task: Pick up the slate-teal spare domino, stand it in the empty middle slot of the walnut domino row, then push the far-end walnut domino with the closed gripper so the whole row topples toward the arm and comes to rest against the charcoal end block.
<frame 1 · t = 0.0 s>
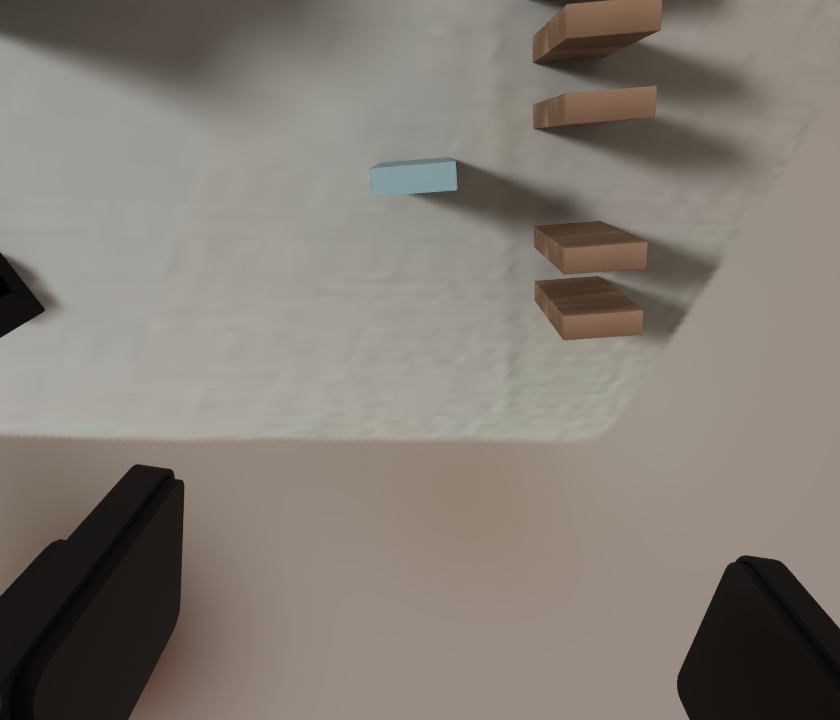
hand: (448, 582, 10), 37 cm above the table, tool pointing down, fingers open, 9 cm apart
spare domino: (415, 171, 43), on the table
domino 2: (566, 234, 45), on the table
domino 1: (566, 288, 46), on the table
domino 3: (568, 113, 42), on the table
domino 4: (569, 46, 40), on the table
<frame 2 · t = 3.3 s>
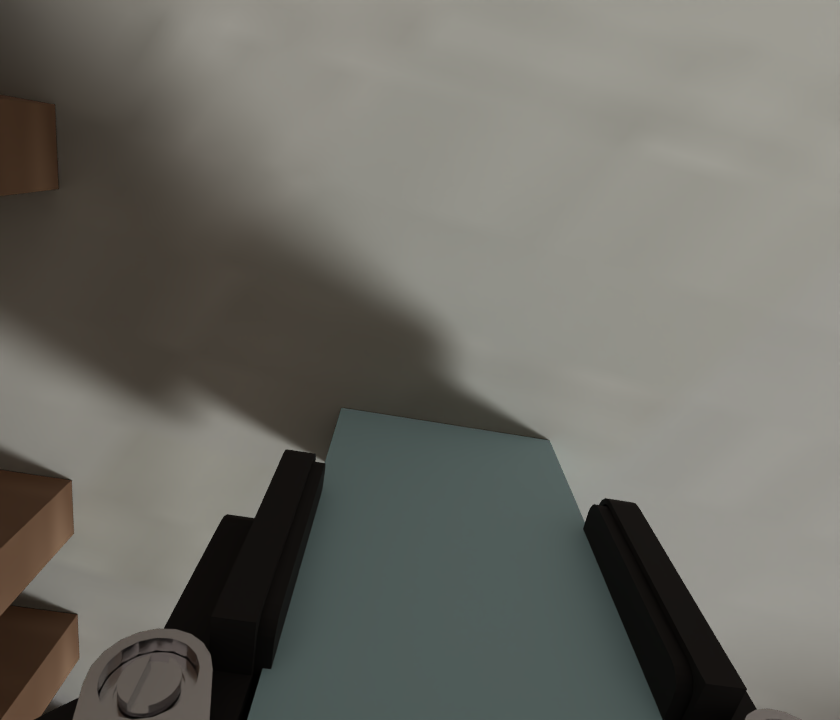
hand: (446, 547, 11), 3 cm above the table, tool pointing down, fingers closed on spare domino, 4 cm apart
spare domino: (440, 453, 14), on the table, touching gripper
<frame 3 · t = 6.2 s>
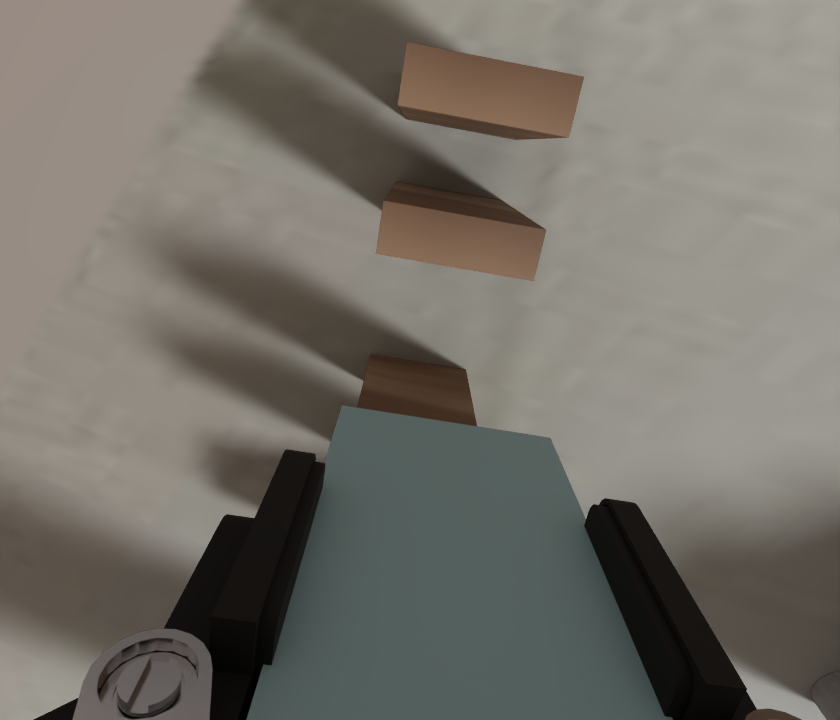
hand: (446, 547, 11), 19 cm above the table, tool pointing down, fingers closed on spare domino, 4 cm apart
spare domino: (441, 451, 14), point 16 cm above the table, touching gripper
domino 2: (446, 208, 27), on the table
domino 1: (464, 110, 26), on the table
domino 3: (415, 376, 30), on the table
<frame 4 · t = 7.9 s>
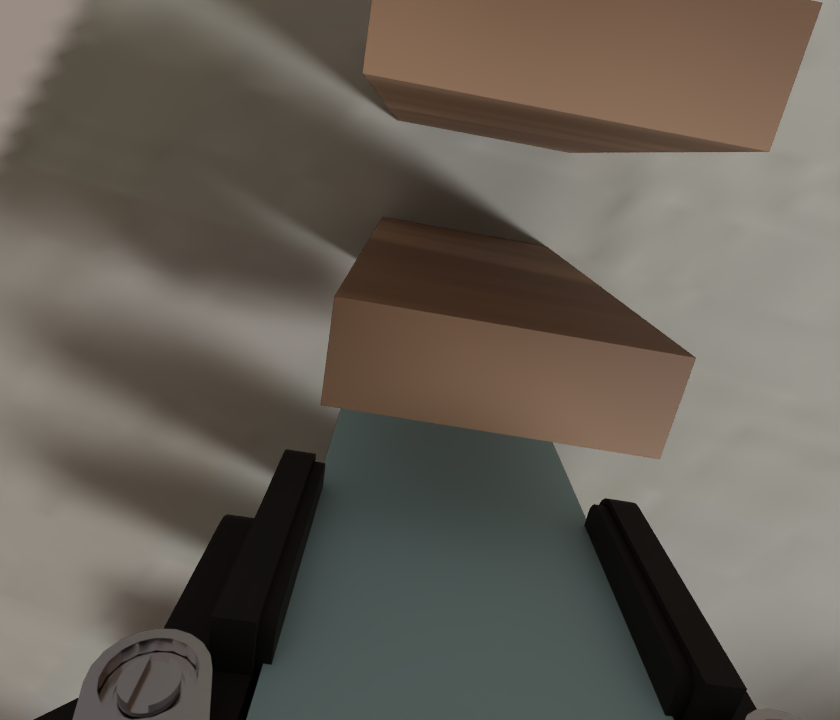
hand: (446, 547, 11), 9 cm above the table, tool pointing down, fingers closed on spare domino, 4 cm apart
spare domino: (441, 450, 14), point 5 cm above the table, touching gripper
domino 2: (459, 258, 17), on the table
domino 1: (490, 106, 16), on the table
when the fingers open (4 cm above the table, at t = 9.2 s): spare domino stays where it is, on the table.
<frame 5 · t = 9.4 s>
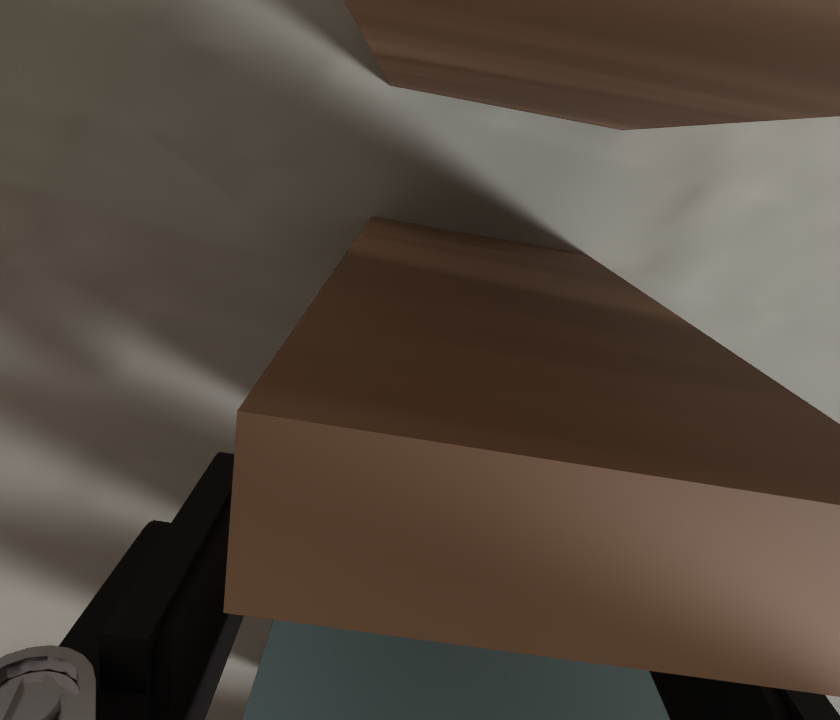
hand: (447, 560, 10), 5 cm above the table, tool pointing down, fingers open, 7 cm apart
spare domino: (438, 432, 15), on the table
domino 2: (473, 270, 13), on the table
domino 1: (516, 66, 12), on the table
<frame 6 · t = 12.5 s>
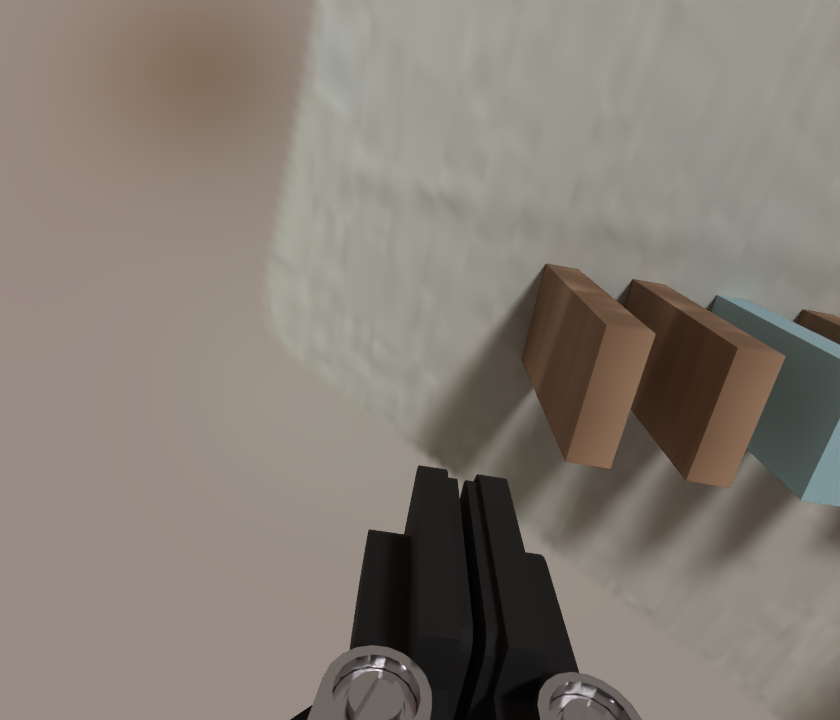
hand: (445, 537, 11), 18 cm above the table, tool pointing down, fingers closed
spare domino: (715, 345, 29), on the table
domino 2: (633, 330, 29), on the table
domino 1: (549, 316, 28), on the table
domino 3: (798, 359, 29), on the table
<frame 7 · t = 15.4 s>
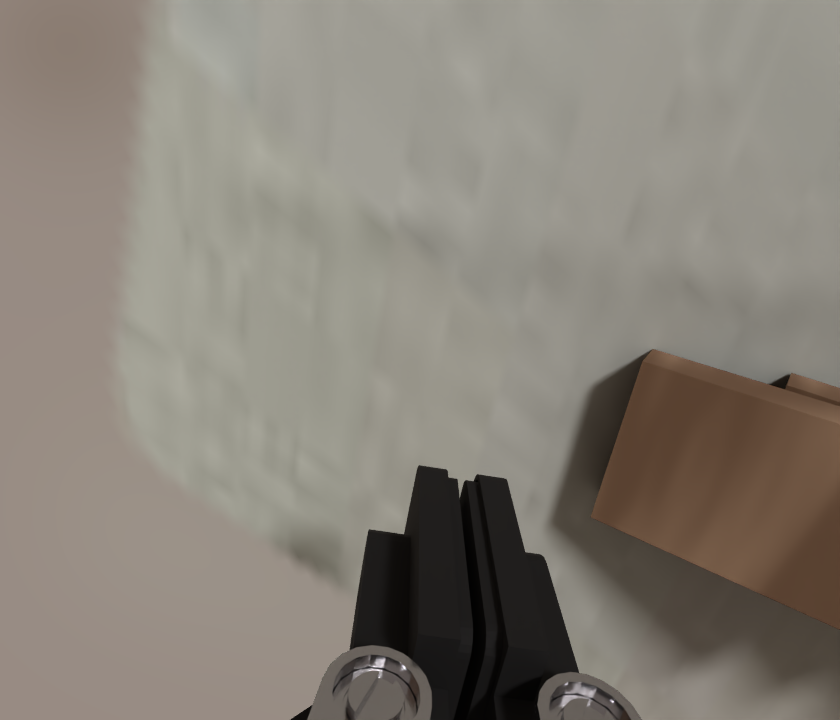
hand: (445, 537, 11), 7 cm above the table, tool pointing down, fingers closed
domino 2: (755, 455, 17), point 1 cm above the table, tilted 54°, touching domino 1, spare domino
domino 1: (621, 434, 17), point 1 cm above the table, tilted 59°, touching domino 2
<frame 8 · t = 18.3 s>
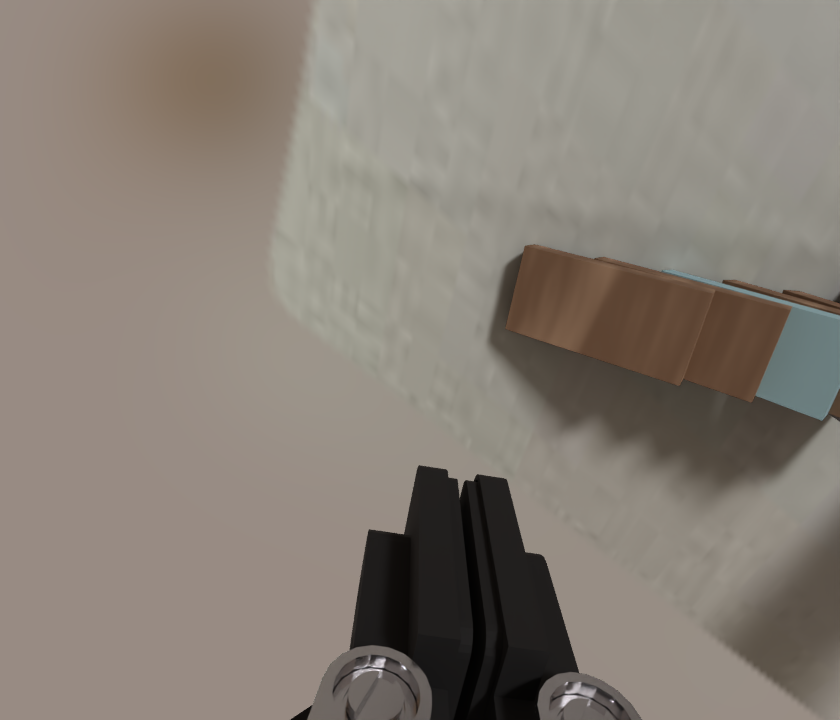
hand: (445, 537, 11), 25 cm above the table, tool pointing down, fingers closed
spare domino: (653, 310, 35), point 1 cm above the table, tilted 46°, touching domino 2, domino 3
domino 2: (587, 298, 34), point 1 cm above the table, tilted 54°, touching domino 1, spare domino
domino 1: (519, 286, 34), point 1 cm above the table, tilted 59°, touching domino 2
domino 3: (714, 319, 35), on the table, tilted 38°, touching domino 4, spare domino
domino 4: (775, 329, 35), on the table, tilted 26°, touching domino 3, end block
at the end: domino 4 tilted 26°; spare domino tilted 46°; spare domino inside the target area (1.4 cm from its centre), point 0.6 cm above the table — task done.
